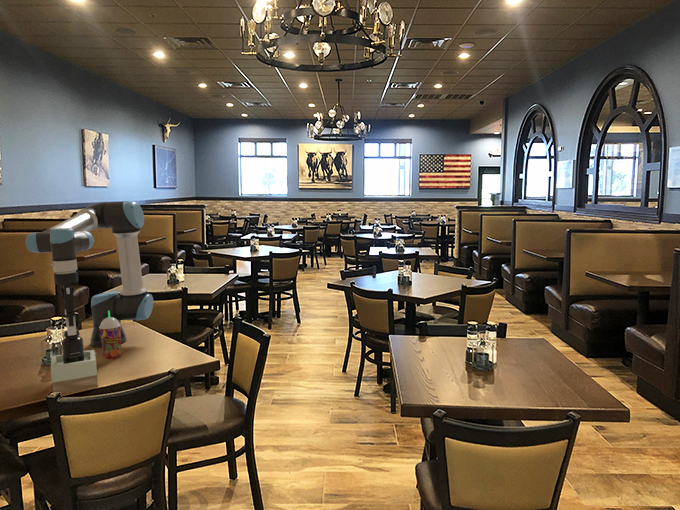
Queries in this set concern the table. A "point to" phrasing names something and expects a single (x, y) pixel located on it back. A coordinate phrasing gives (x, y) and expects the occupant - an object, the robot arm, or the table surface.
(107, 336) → the smoothie
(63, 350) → the supplement bottle
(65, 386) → the tower base block
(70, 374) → the tower top block
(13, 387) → the table surface
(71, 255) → the robot arm
